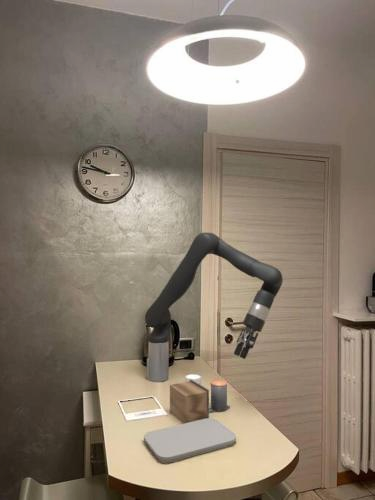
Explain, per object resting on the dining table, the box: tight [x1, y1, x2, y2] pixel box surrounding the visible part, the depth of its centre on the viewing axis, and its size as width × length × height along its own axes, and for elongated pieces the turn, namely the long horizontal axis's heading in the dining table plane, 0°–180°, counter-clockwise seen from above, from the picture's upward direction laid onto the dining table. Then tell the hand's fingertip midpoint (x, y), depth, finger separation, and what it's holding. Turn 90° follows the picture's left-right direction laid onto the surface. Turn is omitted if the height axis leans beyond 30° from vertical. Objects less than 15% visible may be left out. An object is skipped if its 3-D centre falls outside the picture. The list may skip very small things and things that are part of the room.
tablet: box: [143, 417, 237, 464], centre depth 114 cm, size 16×26×2 cm, turn 117°
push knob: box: [210, 378, 228, 411], centre depth 138 cm, size 6×6×9 cm
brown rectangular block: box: [169, 379, 231, 424], centre depth 135 cm, size 21×12×11 cm, turn 119°
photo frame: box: [117, 395, 168, 423], centre depth 138 cm, size 15×1×18 cm
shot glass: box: [184, 373, 202, 385], centre depth 153 cm, size 7×7×7 cm
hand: (239, 356), depth 139 cm, fingers open, 8 cm apart
